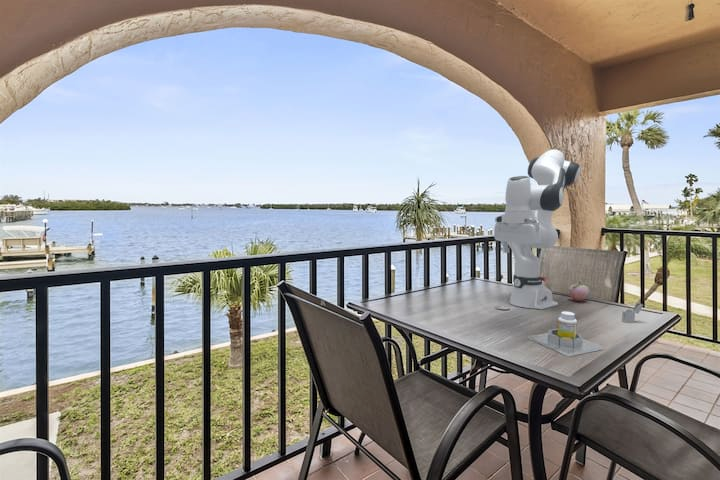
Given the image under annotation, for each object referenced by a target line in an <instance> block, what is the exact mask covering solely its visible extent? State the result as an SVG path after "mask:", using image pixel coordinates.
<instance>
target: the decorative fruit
mask: <svg viewBox="0 0 720 480" xmlns="http://www.w3.org/2000/svg"><path fill="white" fill-rule="evenodd" d="M568 294H569V296H570V298H572V299H574V300H575V301H576V302H581V301H583V300H585V299H586V298H588V297H589V294H590V289H589V287H588V285H587V284H586V283H584V282H580V281H578V283H574V284H572V285H570V286H569V288H568Z"/></svg>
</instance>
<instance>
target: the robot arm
mask: <svg viewBox="0 0 720 480" xmlns="http://www.w3.org/2000/svg"><path fill="white" fill-rule="evenodd" d="M565 158H566V157H565V155H564V153H563V152H562V151H561V150H559V149H548V150H546V151H545V152H543V154H541V155H540V156H538V157H534V158H533V159H531V161H530V163H529V164H528V166H527V175H518V176H511V177H510V178H508V180H507V183H506V188H505V199H504V200H505V209H504V213H503V214H500V215H499V216H495V217H494V222H495V225H494V227H493V228H494V229H493V231H494V232H493V237H494V239H495V241H499V242H501V246H502V249H503V251H502V252H503V253H506V254H509V253H510V249H511V251H512V254H513V258H514V259H513V260H514V274H513V277H512V282H513V285H512V288H511V296H510V298H509V304H510V305H513V306H516V307H521V308H526V309H535V310H544V309H548V308H552V307H555V306H558V305H559V303H558V301H555V300H554V297H553V292H552V291H551V290H550V289H549V288H548V287H547V286H545V285H544V284H543V282H547V277H546V276H541V259H540V258H539V257H538V256H537V255H535V254H534V253H533V251H532V248H534V249H549V248H553V247H554V246H555V245H556V244H557V242H558V240H559V235H558V234H559V233H558V231H557V229H556V228H555V227H554V226H553V225H552V216H553V212H555V211H556V210H558V209H559V208H560V207H561V206H562V205H563V202H564V192H565V189H566V188H567V187H570V186H571V185H573V184H575V182H576V181H577V180H578V179H579V177H580V175H581V167H580V164H579V163H577V162H575V161H568V160H566V159H565ZM530 178H531V179H533V180H534V181H535V182H537V183H538V184H537V185H531V179H530ZM509 247H510V248H509Z"/></svg>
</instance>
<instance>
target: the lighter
mask: <svg viewBox="0 0 720 480" xmlns="http://www.w3.org/2000/svg"><path fill="white" fill-rule="evenodd" d="M643 307H644V304H643V303H641V302H636V303H635V305H634V307H633V309H631V308H626V309H625V310H622V314H621V316H622V317H621V322H622V323H625V324H626V323H628V324H629V323H630V324H631V323H635V320H636V319H635V318H636V314H640V312H641V310H642V308H643Z"/></svg>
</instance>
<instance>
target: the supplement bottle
mask: <svg viewBox="0 0 720 480" xmlns="http://www.w3.org/2000/svg"><path fill="white" fill-rule="evenodd" d="M557 321H558V322H557V329H558V335H557V336H559V337H562V336H565V337H571V339H574V338H576V333H577V327H578V321H577V319H576V317H575V313H574V312H571V311H561V313H560V316H559V317H558V319H557Z"/></svg>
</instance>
